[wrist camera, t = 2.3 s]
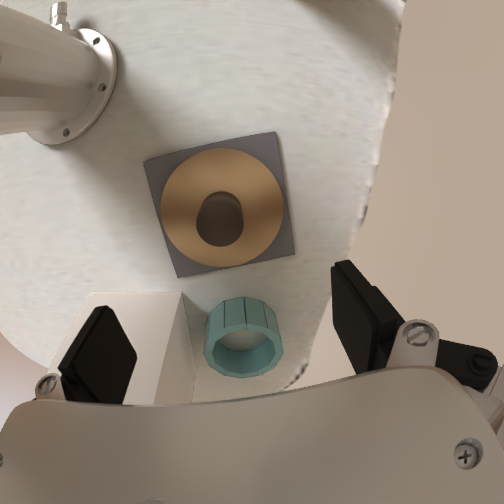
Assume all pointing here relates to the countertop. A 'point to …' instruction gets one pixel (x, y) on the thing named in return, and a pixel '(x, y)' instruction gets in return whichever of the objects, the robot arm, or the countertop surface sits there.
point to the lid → (221, 207)
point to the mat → (254, 145)
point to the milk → (147, 344)
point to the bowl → (242, 338)
